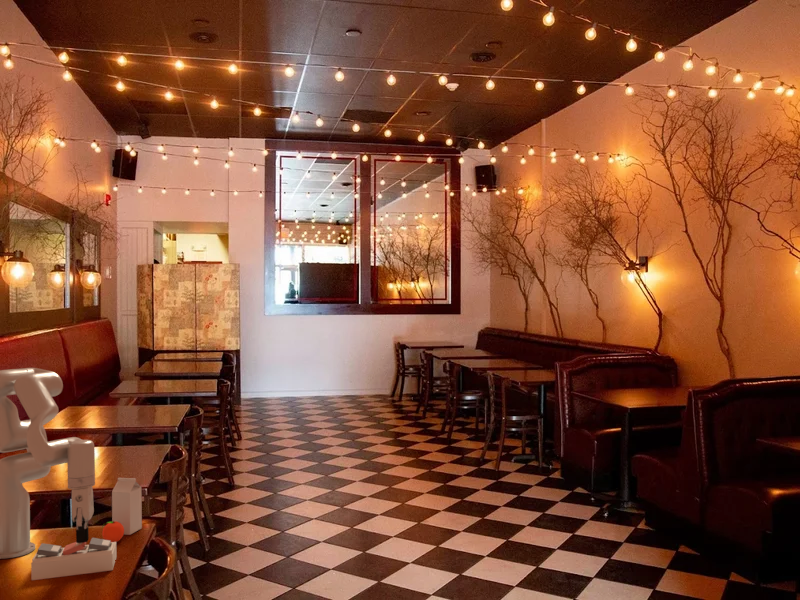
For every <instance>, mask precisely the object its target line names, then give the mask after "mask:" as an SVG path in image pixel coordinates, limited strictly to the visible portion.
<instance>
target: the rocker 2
mask: <svg viewBox="0 0 800 600" xmlns="http://www.w3.org/2000/svg"><path fill="white" fill-rule="evenodd" d="M110 542H111V540H105V539H104V538H97V537H91V539H90V542H89V544H88V545H89V547H88V548H90V549H97V550H108V548H109V546H110Z"/></svg>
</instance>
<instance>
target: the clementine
mask: <svg viewBox="0 0 800 600" xmlns="http://www.w3.org/2000/svg"><path fill="white" fill-rule="evenodd" d="M101 528H102V532H101V536H102V539H105V540H111V542H116V543H117V542H119V541H121V539H122V538H123V537H124V535H125V534H124V527H123V525H122V524H121V523H119V522H117V521H113V522H112V520H111V521H107V522H106V523H104V525H102V526H101Z"/></svg>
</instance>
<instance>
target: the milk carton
mask: <svg viewBox="0 0 800 600" xmlns="http://www.w3.org/2000/svg"><path fill="white" fill-rule="evenodd" d="M142 497H143V496H142V486H141V485H140V484H139V483H138V482H137V478H135V477H134V478H132V477H131V478H129V477H128V478H127V477H117V481H116V483H115V486H114V487H113V488H112V492H111V511H112V512H111V515H112V516H111V518H112V519H111V521H112V522H113V521H117V522H119V523H121V524H122V525H123V527H124V534H123V535H127V536H129V535H130V536H131V535H132V534H134V533H136V532H137V531H139V530H141V529H142V528H143V522H142V521H143V520H142V519H143V517H142V516H143V515H142V514H143V513H142V512H143V511H142V510H143V509H142V508H143V507H142V501H143V499H142Z"/></svg>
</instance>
